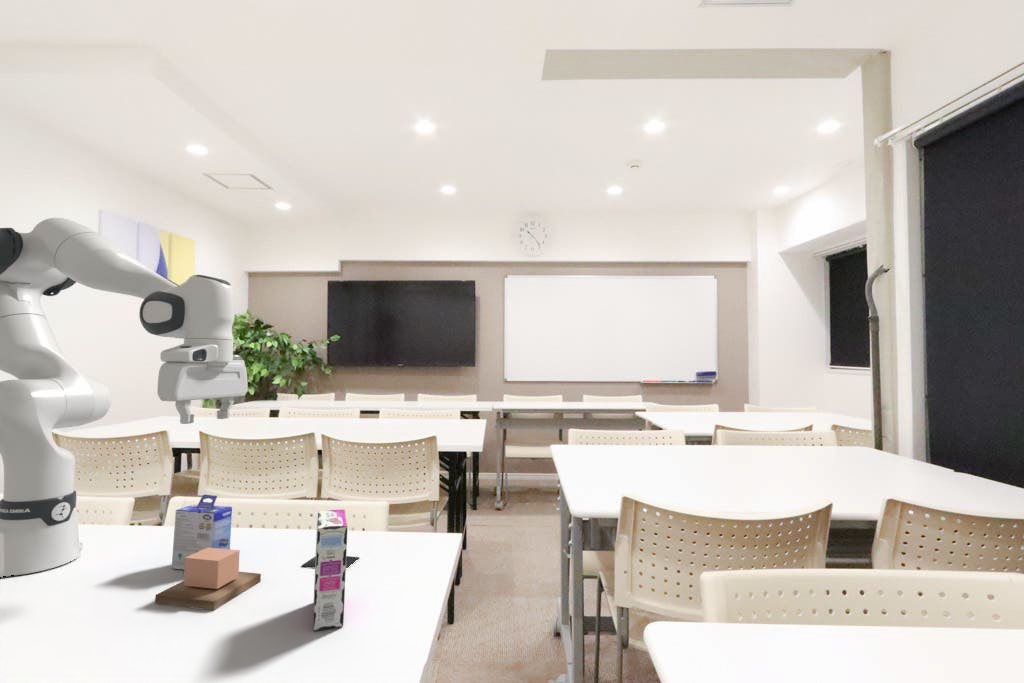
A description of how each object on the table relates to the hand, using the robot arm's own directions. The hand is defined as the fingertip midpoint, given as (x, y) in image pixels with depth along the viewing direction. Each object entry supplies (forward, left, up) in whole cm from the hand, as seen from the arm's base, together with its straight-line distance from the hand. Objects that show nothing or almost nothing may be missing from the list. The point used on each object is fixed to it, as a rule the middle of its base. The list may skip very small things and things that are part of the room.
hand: (205, 421), depth 103 cm
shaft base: (+8, -6, -31) cm, 33 cm away
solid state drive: (+22, +12, -32) cm, 40 cm away
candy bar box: (+34, -9, -31) cm, 47 cm away
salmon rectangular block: (+8, -6, -29) cm, 31 cm away
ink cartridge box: (-3, +4, -31) cm, 32 cm away
